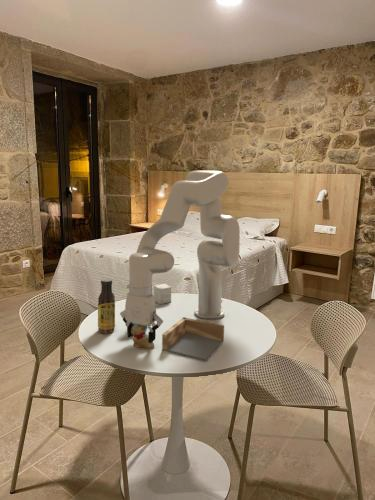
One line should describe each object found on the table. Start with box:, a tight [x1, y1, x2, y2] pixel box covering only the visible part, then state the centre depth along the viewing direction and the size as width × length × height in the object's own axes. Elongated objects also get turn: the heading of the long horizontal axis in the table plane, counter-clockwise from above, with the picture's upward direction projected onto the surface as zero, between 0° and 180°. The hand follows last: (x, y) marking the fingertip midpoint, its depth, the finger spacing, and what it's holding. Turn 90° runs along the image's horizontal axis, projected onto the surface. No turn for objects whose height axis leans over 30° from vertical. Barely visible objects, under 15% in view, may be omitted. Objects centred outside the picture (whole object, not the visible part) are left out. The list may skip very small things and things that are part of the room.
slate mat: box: [165, 333, 225, 362], centre depth 128 cm, size 16×16×1 cm
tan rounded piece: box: [131, 324, 155, 350], centre depth 126 cm, size 6×8×10 cm
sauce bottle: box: [97, 278, 116, 334], centre depth 136 cm, size 6×6×20 cm
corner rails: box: [161, 316, 225, 352], centre depth 127 cm, size 16×16×6 cm
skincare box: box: [153, 283, 172, 305], centre depth 169 cm, size 6×6×7 cm
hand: (141, 338), depth 127 cm, fingers closed on tan rounded piece, 7 cm apart
